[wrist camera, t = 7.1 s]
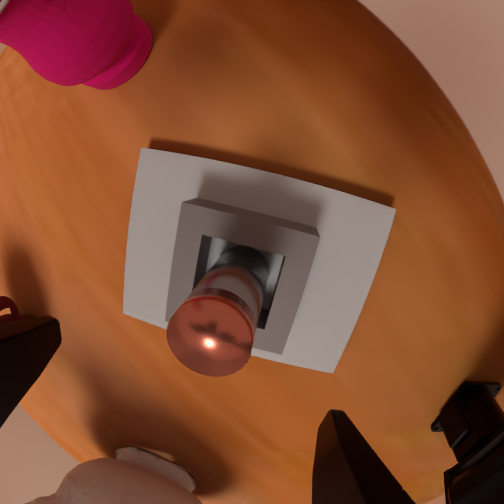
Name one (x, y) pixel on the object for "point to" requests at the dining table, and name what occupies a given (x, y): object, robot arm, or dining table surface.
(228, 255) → the pin
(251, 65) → the dining table surface
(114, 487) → the ceramic pitcher
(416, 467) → the dining table surface
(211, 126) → the dining table surface
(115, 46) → the pepper mill
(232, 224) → the grey plate with socket
